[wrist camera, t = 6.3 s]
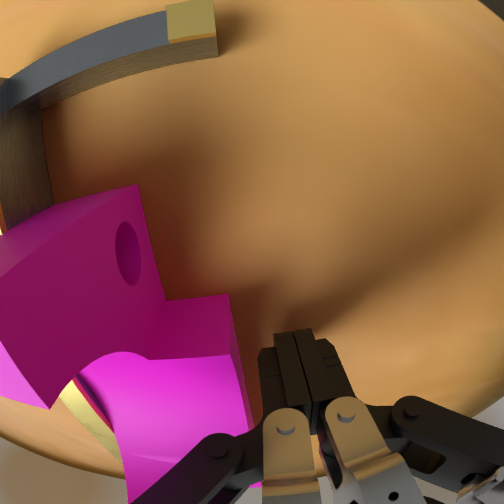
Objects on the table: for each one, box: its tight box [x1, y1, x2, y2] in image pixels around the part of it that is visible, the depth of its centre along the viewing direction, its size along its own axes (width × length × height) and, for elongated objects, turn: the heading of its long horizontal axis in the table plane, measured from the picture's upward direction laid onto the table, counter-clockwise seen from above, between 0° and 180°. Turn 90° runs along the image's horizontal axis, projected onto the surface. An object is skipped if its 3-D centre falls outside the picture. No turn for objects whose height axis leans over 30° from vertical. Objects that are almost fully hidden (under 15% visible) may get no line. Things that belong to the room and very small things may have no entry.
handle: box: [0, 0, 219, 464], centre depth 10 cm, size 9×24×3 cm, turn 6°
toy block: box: [0, 184, 262, 504], centre depth 8 cm, size 15×6×8 cm, turn 6°
